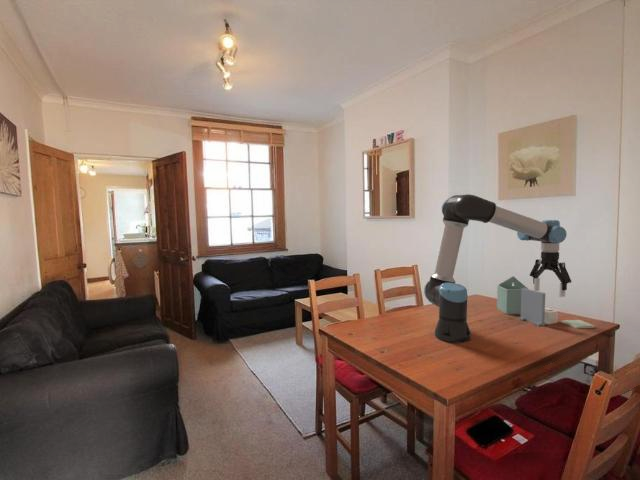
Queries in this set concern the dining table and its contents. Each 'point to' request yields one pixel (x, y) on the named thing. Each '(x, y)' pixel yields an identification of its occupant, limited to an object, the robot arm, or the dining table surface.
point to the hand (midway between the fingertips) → (549, 293)
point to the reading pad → (578, 324)
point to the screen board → (532, 306)
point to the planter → (509, 296)
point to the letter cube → (551, 316)
